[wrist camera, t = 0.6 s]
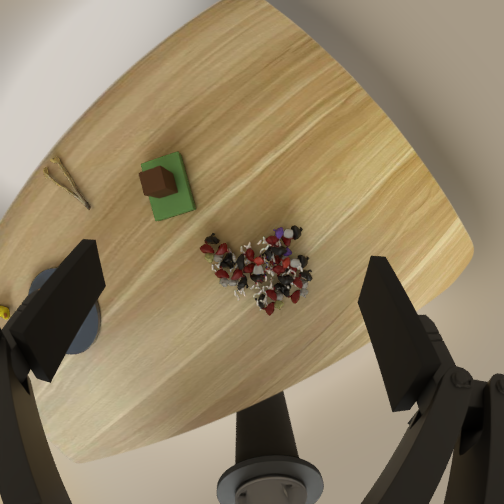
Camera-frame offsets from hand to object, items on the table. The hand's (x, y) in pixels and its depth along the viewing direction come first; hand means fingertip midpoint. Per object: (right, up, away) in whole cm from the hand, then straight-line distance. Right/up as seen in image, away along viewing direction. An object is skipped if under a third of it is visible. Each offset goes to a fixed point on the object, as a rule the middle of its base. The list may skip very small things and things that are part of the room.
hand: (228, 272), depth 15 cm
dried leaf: (-30, +12, +30) cm, 44 cm away
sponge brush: (-11, +11, +33) cm, 36 cm away
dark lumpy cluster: (+3, -1, +35) cm, 35 cm away
